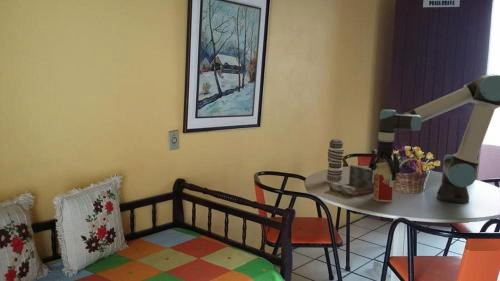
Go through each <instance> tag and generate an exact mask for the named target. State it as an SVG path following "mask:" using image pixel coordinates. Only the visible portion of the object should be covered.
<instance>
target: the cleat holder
mask: <svg viewBox="0 0 500 281" xmlns="http://www.w3.org/2000/svg"><path fill="white" fill-rule="evenodd" d="M348 177H349V180H348V183H346V184H341V183H334V182H328V185H329V186H328V188H329V191H331V192H334V193H338V194H341V195H345V196H348V197H352V198H356V197H358V196H359V197H360V196H363V195H366V194H371V193H374V184H375V183H372V178H373V176H372V169H371V168H369V167H368V168H367V167H362V166H359V165H358V166H357V165H353V164H352V165H351V164H350V166H349V176H348Z"/></svg>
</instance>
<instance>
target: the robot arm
mask: <svg viewBox="0 0 500 281" xmlns="http://www.w3.org/2000/svg"><path fill="white" fill-rule="evenodd" d="M468 103H472V104H474V105H473V106H474V107H473V109H472V112H471V115H470V116H469V120H468V123H467V126H466V128H465V131H464V133H463V137H462V140H461V142H460V145H459V147H458V150H457V152H456V153H453V154H445V155H444V156H443V159H442V162H443V164H442V175H441V184H440V185H439V188H438V190H437V192H436V199H437V200H440V201H442V202H446V203H454V204H466V203H468V202H470V194H469V192H468V187H470V186H472V185H473V184H474V183H475V182H476V179H477V169H478V167H479V163H480V162H479V160H478V156H479V153H480V150H481V148H482V145H483V142H484V140H485V136H486V134H487V131H488V129H489V128H490V127H489V125H490V124H491V122H492V118H493V115H494V113H495V110H497V109H499V108H500V75H499V74H494V73H492V74H485V75H482V76H479V77H478V78H476V79H475V80H473V81H471V82H469V83H467V84H464V85H463V87H462V88H460V89H458V90H455V91H453V92H451V93H448V94H447V95H444V96H441V97H439V98H437V99H435V100H433V101H430V102H427V103H425V104H423V105H421V106H419V107H417V108H414V109H412V110H409V111H407V112H403V113H401V114H400V113H397V110H395V109H381V111H380V113H379V114H380V115H379V125H378V135H377V136H378V138H377V139H378V141H377V149H372V150H371V157H370V161H369V164H368V169H372V176H373V178H372V183H375V176H376V171H377V165H376V163H381V161H382V160H386V161H385V162H388V164H389V167H390V170H391V174H390V182H389V187H393V188H394V184H395V181H396V177H397V175H399V174H401V171H400V169H401V168H400V163H399V152H397V153H396V152H394V151H393V150H394V145H395V142H394V140H395V131H396V130H399V131H400V130H403V131H421V128H422V123H423V122H425V121H427V120H429V119H432V118H434V117H437V116H440V115H441V114H444V113H446V112H449V111H451V110H454V109H456V108H458V107H461V106H463V105H466V104H468Z"/></svg>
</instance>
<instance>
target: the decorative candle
mask: <svg viewBox="0 0 500 281" xmlns="http://www.w3.org/2000/svg"><path fill="white" fill-rule="evenodd" d="M343 144H344V142H343V141H342V140H341V139H338V138H337V139H335V138H334V139H330V141H329V147H328V149H327V163H328V166H327V170H326V171H327V172H326V173H327V175H326V182H327V183H329V182H334V183H338V184H341V183H342V174H343V170H342V168H343V167H342V165H343V160H344V158H343V157H344V154H345V153H344V149H343V146H344V145H343Z"/></svg>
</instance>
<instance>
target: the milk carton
mask: <svg viewBox="0 0 500 281" xmlns="http://www.w3.org/2000/svg"><path fill="white" fill-rule="evenodd" d="M376 165H377V168H376V170H377V171H376V176H375V184H374V192H373V197H372V199H373V200H374V201H377V202H385V203H387V202H388V203H393V200H394V199H393V198H394V186H393V187H389V182H390V174H391V170H390V167H389V164H388V162H387V161H385V162H380V163H376Z"/></svg>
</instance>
